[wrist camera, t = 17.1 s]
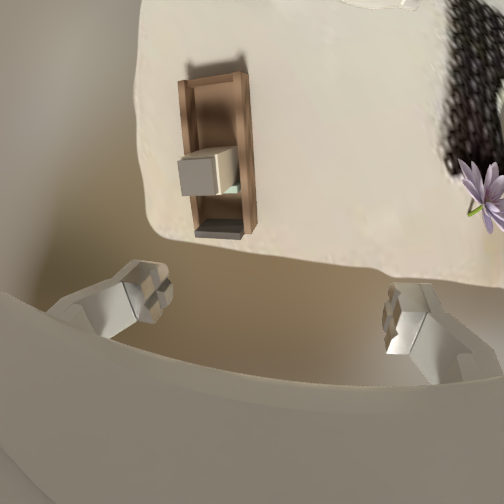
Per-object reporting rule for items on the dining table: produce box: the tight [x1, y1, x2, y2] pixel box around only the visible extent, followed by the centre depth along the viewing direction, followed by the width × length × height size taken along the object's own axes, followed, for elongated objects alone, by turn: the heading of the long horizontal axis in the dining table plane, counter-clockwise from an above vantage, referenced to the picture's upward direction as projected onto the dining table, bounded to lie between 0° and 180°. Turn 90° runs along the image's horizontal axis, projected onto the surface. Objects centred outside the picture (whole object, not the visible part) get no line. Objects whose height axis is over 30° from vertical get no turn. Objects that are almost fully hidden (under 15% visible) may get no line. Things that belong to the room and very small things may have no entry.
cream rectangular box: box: [177, 146, 240, 196], centre depth 35 cm, size 5×5×9 cm
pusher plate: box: [224, 180, 241, 193], centre depth 38 cm, size 1×6×4 cm, turn 93°
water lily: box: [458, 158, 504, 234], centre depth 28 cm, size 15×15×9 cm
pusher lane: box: [178, 71, 258, 240], centre depth 36 cm, size 23×9×6 cm, turn 4°
